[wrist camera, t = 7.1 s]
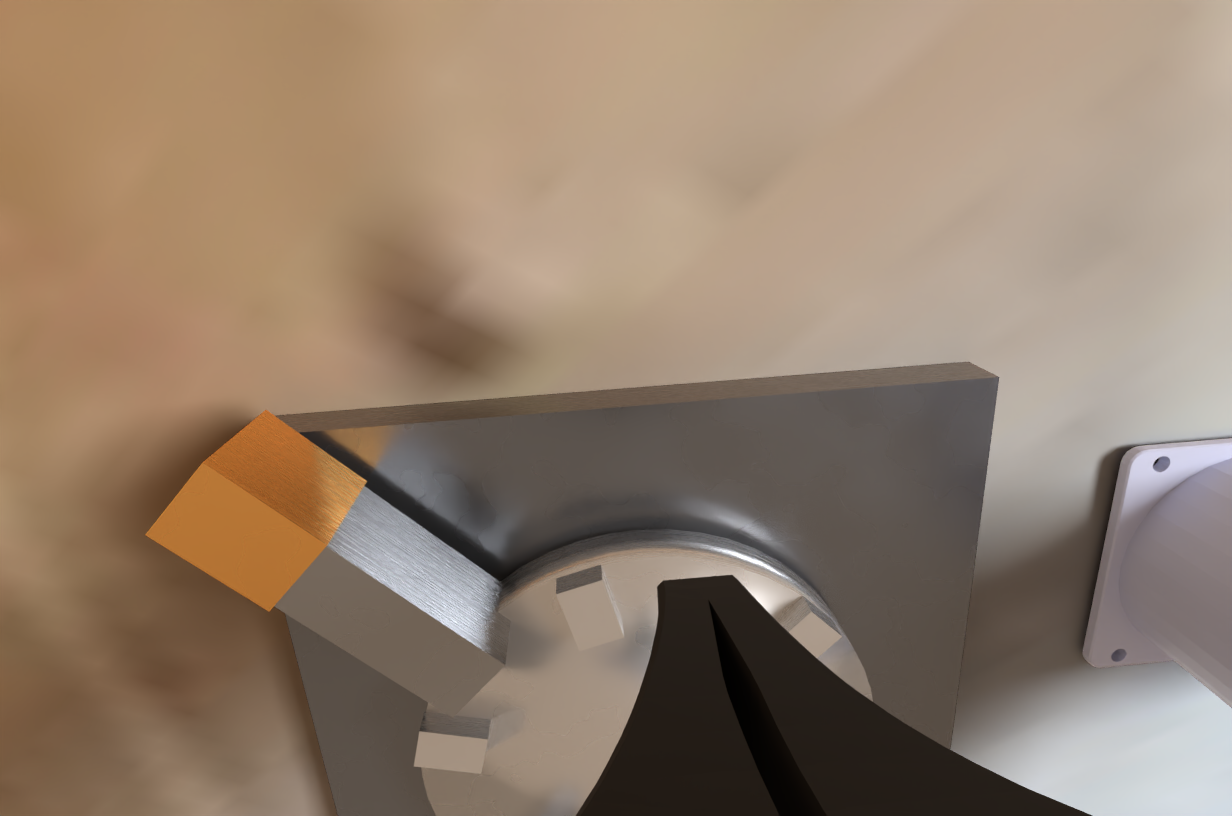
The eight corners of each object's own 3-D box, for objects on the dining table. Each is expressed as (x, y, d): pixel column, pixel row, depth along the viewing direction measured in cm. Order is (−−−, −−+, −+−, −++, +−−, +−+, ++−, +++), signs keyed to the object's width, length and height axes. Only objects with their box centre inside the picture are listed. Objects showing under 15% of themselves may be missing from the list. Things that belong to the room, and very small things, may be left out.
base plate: (968, 361, 20) (1001, 378, 19) (911, 861, 27) (931, 903, 25) (262, 416, 19) (236, 438, 18) (386, 918, 26) (375, 964, 25)
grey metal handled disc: (399, 243, 16) (360, 263, 13) (939, 691, 22) (1000, 779, 19) (108, 607, 19) (18, 695, 16) (654, 923, 25) (666, 1035, 21)
